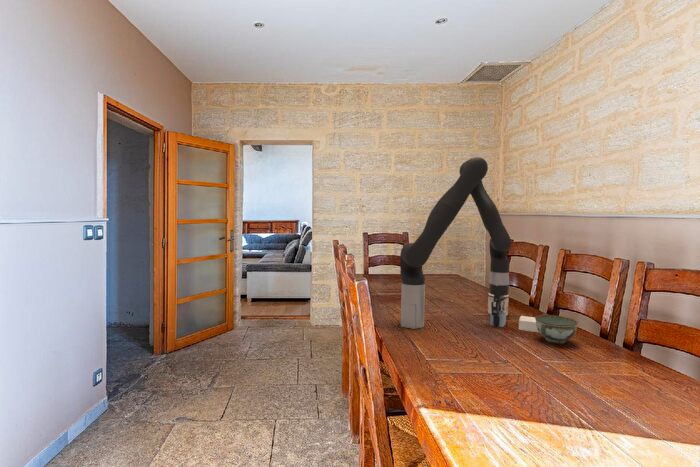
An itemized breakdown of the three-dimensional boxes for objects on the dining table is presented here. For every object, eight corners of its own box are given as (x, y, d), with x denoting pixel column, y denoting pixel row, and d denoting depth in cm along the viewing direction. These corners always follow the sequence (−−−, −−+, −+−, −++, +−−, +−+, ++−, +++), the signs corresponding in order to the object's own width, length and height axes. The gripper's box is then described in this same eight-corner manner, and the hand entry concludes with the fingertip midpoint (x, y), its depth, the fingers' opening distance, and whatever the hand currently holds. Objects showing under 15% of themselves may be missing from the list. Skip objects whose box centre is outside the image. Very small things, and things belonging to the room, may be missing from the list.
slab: (541, 333, 147) (541, 323, 147) (518, 330, 151) (518, 320, 151) (542, 328, 154) (542, 318, 154) (520, 325, 158) (520, 315, 158)
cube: (502, 327, 154) (503, 315, 154) (490, 325, 157) (490, 313, 157) (505, 324, 159) (506, 312, 158) (493, 322, 161) (493, 310, 161)
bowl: (583, 349, 129) (584, 326, 129) (540, 346, 132) (541, 323, 132) (569, 336, 143) (569, 315, 142) (530, 334, 145) (530, 313, 145)
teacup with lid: (511, 316, 170) (512, 290, 170) (491, 316, 171) (491, 290, 170) (502, 310, 182) (502, 285, 182) (482, 309, 183) (483, 285, 182)
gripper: (494, 279, 165) (493, 318, 166) (484, 284, 153) (483, 326, 154) (512, 281, 161) (511, 321, 162) (504, 286, 149) (503, 329, 150)
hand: (497, 323), depth 158 cm, fingers closed on cube, 5 cm apart
